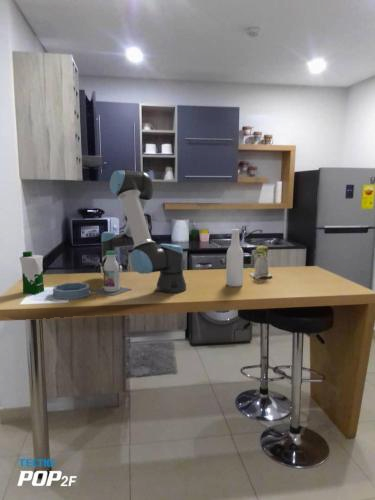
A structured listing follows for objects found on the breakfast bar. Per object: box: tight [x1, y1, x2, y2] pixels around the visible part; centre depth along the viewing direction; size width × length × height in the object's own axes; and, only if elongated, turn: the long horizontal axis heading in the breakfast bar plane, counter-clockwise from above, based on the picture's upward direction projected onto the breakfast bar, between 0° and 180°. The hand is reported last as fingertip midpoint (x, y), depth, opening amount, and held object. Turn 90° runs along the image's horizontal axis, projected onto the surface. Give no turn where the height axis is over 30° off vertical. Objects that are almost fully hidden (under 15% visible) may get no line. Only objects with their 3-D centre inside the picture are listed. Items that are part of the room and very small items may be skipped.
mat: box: [91, 286, 132, 297], centre depth 181 cm, size 14×14×1 cm
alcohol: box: [225, 228, 244, 287], centre depth 191 cm, size 9×9×30 cm
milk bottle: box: [103, 250, 121, 292], centre depth 179 cm, size 8×8×20 cm
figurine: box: [249, 245, 273, 280], centre depth 211 cm, size 12×13×18 cm
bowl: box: [52, 281, 92, 301], centre depth 174 cm, size 18×18×4 cm
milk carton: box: [19, 251, 45, 295], centre depth 176 cm, size 9×9×20 cm
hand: (111, 271), depth 174 cm, fingers open, 9 cm apart
